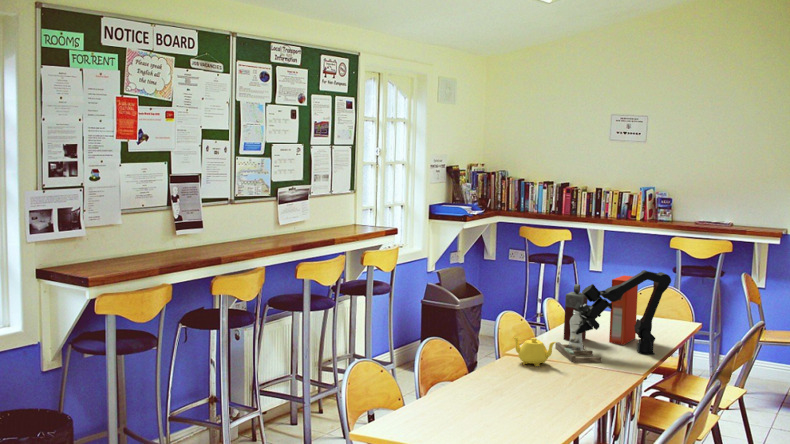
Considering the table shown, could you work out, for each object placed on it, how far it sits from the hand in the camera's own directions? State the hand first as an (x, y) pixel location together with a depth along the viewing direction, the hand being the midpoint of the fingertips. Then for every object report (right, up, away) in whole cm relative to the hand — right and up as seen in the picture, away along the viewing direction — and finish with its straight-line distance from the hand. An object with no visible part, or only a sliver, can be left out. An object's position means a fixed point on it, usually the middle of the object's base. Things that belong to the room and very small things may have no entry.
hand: (573, 332), depth 367 cm
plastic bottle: (+1, -10, +1) cm, 10 cm away
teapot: (-23, -11, -21) cm, 33 cm away
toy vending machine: (+8, -8, +27) cm, 29 cm away
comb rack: (+2, -10, -5) cm, 11 cm away
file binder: (+31, -8, +27) cm, 42 cm away
